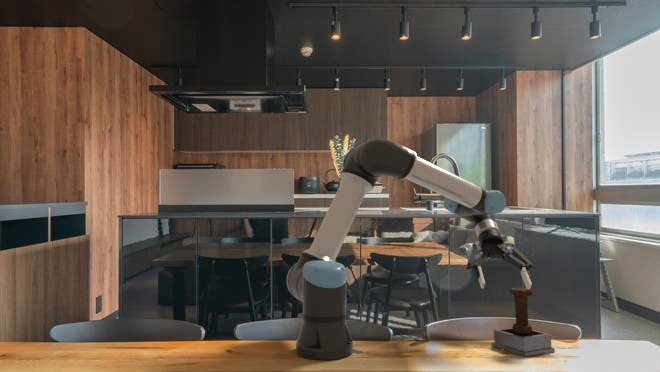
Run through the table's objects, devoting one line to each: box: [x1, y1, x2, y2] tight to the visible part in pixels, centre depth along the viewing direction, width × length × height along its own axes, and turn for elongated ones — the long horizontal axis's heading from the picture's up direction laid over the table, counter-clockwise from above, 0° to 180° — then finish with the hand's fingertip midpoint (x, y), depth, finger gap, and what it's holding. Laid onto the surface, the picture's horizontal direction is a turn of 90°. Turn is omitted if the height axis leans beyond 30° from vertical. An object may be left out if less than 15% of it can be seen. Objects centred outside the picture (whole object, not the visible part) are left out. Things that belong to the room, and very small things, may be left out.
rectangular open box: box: [491, 326, 556, 358], centre depth 113 cm, size 11×11×4 cm
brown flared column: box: [508, 287, 533, 337], centre depth 113 cm, size 6×5×15 cm
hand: (506, 286), depth 125 cm, fingers open, 13 cm apart
